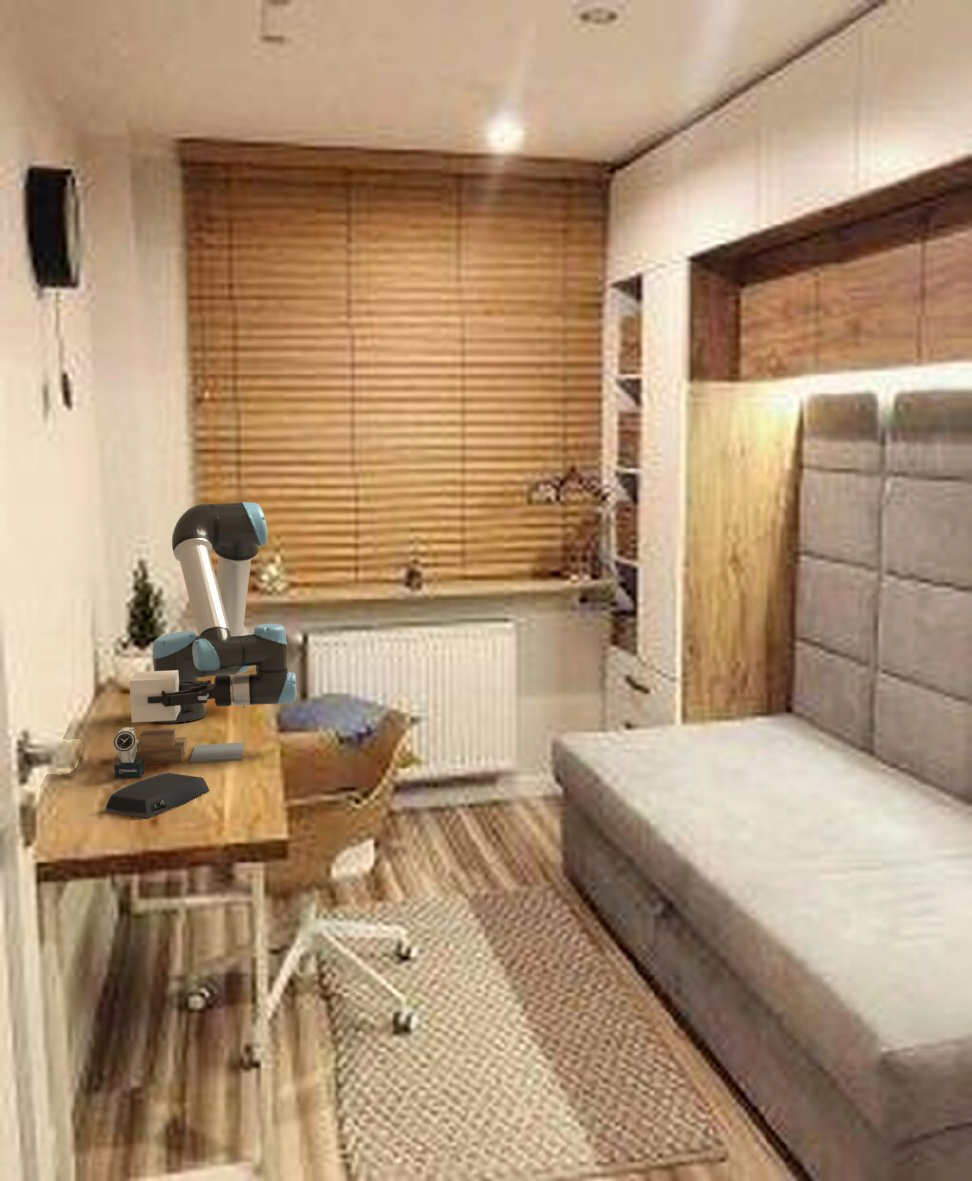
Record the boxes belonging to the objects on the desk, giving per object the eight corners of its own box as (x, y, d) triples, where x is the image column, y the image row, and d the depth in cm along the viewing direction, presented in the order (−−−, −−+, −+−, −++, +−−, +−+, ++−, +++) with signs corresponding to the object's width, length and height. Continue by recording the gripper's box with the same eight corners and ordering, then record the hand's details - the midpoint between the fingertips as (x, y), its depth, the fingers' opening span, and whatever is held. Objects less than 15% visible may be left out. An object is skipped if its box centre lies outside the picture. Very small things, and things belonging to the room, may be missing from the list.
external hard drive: (101, 812, 231) (100, 793, 230) (166, 786, 248) (165, 768, 247) (150, 821, 225) (149, 801, 224) (212, 793, 242) (212, 775, 242)
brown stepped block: (136, 751, 275) (135, 727, 274) (186, 748, 277) (185, 725, 276) (129, 765, 263) (127, 740, 262) (181, 762, 265) (180, 737, 264)
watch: (112, 780, 251) (110, 733, 250) (121, 770, 259) (118, 724, 258) (138, 780, 251) (135, 732, 250) (146, 769, 259) (143, 723, 258)
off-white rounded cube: (138, 712, 273) (135, 672, 271) (180, 710, 274) (178, 670, 273) (131, 722, 263) (129, 680, 262) (175, 720, 264) (173, 679, 263)
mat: (195, 747, 278) (195, 745, 278) (244, 744, 280) (244, 742, 280) (189, 763, 264) (189, 760, 264) (241, 760, 266) (241, 757, 266)
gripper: (229, 717, 260) (130, 721, 257) (235, 694, 282) (144, 698, 279) (228, 685, 259) (128, 689, 256) (234, 665, 281) (142, 669, 278)
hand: (136, 694), depth 267 cm, fingers closed on off-white rounded cube, 10 cm apart
